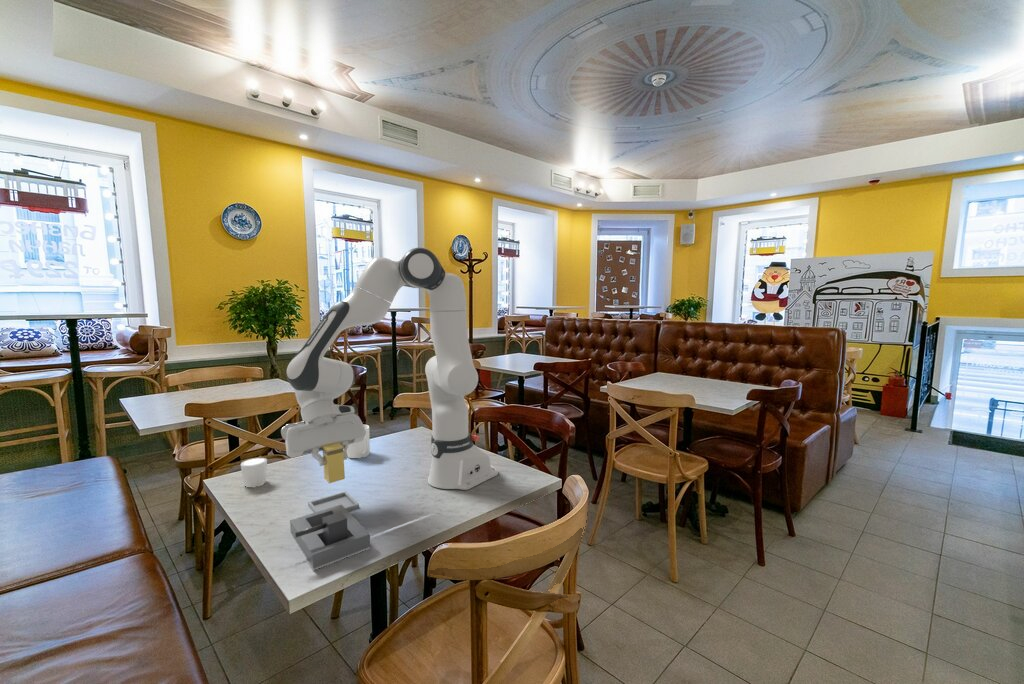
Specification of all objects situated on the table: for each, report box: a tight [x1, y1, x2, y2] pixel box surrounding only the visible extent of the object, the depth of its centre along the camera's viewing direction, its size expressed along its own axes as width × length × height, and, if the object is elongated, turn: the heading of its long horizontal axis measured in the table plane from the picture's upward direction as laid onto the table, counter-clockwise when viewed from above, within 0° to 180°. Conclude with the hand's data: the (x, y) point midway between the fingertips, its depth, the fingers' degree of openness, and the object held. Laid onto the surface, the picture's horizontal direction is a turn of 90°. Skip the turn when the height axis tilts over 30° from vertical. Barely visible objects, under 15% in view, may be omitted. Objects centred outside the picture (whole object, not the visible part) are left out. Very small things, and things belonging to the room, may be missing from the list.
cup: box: [346, 424, 371, 459], centre depth 150 cm, size 8×12×10 cm
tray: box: [307, 490, 360, 513], centre depth 112 cm, size 10×10×1 cm
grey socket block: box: [289, 505, 371, 571], centre depth 96 cm, size 14×18×8 cm
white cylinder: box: [240, 457, 268, 488], centre depth 127 cm, size 7×7×7 cm
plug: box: [321, 443, 346, 484], centre depth 111 cm, size 4×4×9 cm
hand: (334, 461), depth 111 cm, fingers closed on plug, 4 cm apart
